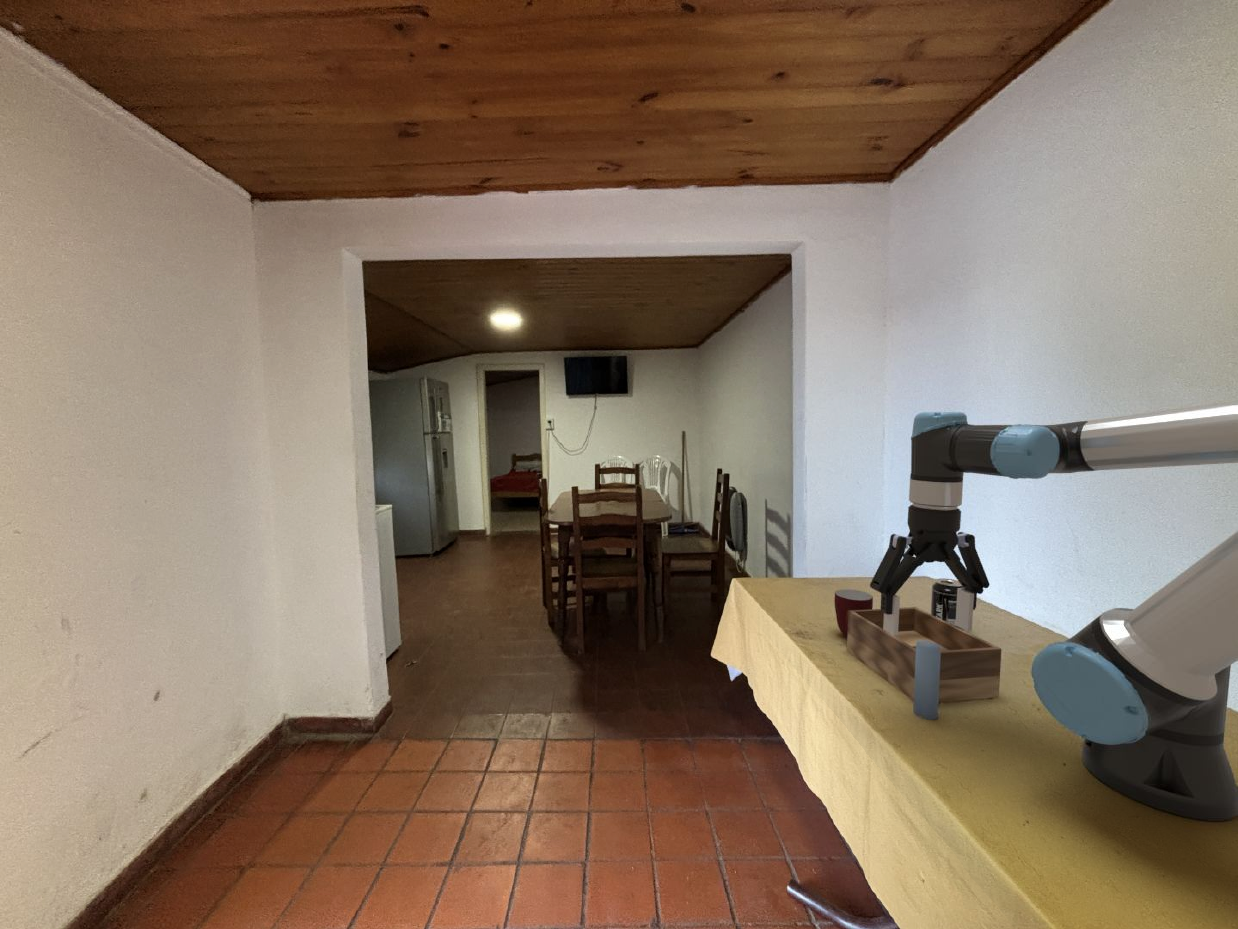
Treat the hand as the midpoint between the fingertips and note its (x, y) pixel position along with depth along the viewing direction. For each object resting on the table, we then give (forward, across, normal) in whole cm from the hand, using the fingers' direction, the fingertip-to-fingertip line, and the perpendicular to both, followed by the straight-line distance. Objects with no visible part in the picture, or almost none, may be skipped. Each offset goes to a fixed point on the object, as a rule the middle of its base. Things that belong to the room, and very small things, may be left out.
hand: (927, 630), depth 89 cm
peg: (+14, 0, 0) cm, 14 cm away
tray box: (+14, -9, -14) cm, 22 cm away
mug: (+15, -6, -30) cm, 35 cm away
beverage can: (+15, -31, -32) cm, 47 cm away
